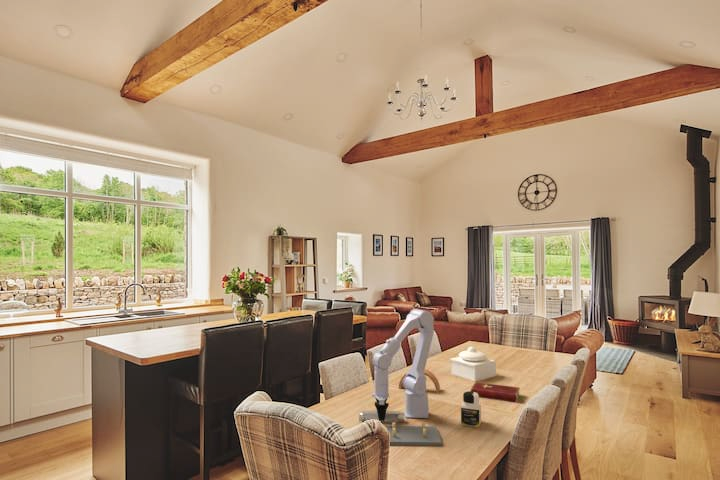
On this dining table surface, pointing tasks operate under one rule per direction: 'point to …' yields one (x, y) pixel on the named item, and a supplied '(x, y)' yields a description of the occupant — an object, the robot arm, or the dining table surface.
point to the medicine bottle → (471, 409)
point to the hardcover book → (496, 391)
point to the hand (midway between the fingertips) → (381, 416)
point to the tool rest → (414, 435)
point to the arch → (428, 376)
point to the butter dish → (473, 365)
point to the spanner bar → (389, 416)
